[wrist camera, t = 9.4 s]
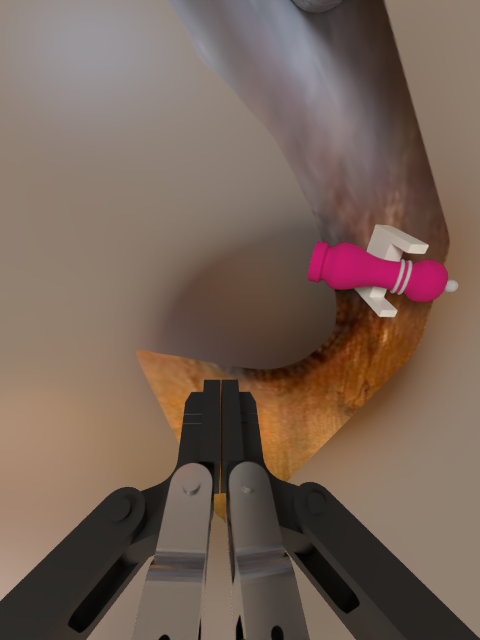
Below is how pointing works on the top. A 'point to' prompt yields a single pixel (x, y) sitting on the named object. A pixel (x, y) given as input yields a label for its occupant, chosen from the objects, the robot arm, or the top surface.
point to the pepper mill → (378, 272)
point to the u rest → (389, 247)
